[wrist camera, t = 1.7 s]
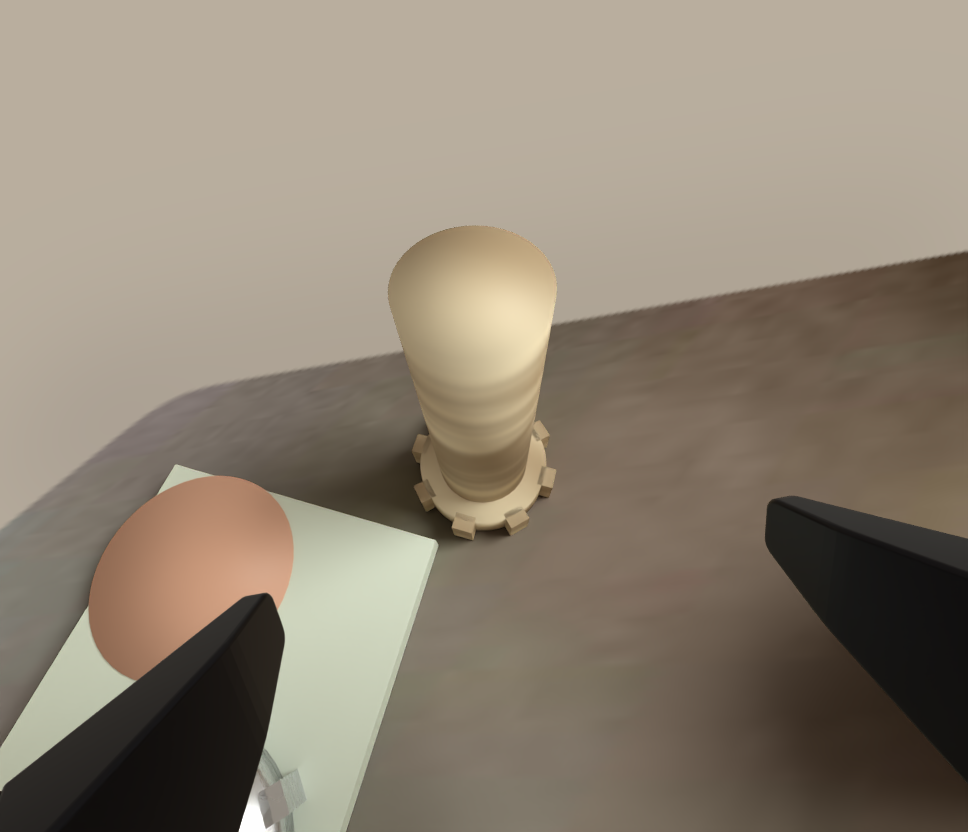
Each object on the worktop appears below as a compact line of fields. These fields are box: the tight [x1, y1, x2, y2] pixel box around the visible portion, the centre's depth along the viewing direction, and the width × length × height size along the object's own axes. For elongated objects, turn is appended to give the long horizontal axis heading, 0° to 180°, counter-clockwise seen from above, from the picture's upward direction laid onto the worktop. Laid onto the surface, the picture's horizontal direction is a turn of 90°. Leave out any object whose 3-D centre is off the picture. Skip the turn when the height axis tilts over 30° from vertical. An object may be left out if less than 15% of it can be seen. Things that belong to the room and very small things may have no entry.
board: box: [0, 465, 439, 832], centre depth 18 cm, size 17×14×1 cm
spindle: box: [388, 226, 557, 540], centre depth 17 cm, size 7×7×13 cm
